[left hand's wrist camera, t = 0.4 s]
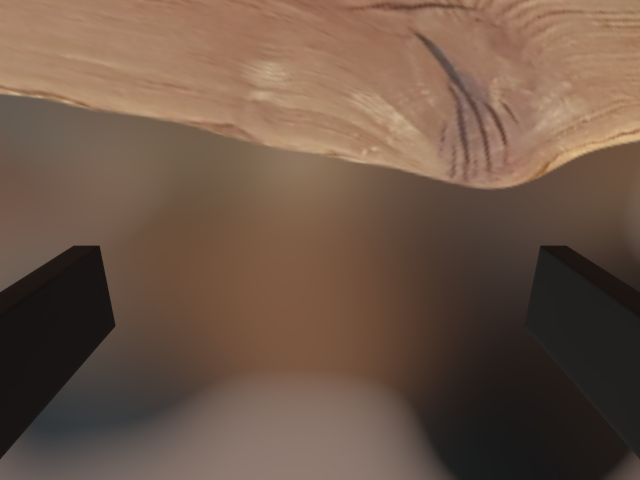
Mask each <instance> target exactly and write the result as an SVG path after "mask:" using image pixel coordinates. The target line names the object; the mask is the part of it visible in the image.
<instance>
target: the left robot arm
mask: <svg viewBox="0 0 640 480" xmlns="http://www.w3.org/2000/svg"><path fill="white" fill-rule="evenodd" d="M114 327H115V321H114V316H113V311H112V306H111V301H110V296H109V291H108V286H107V281H106V276H105V271H104V266H103V261H102V256H101V251H100V246H73V247H71V248H69V249H68V250H66V251H65V252H63V253H61V254H60V255H58V256H57V257H55V258H54V259H52V260H50V261H49V262H47V263H46V264H44V265H43V266H41V267H39V268H38V269H36V270H35V271H33V272H31V273H30V274H28V275H27V276H25V277H24V278H22V279H20V280H19V281H17V282H16V283H14V284H13V285H11V286H9V287H8V288H6V289H5V290H3V291H2V292H0V459H1V458H2V456H3V455H4V454H5V453H6V452H7V451H8V449H9V448H10V447H11V446H12V445H13V444H14V443H15V441H16V440H17V439H18V438H19V437H20V436H21V435H22V433H23V432H24V431H25V430H26V429H27V428H28V426H29V425H30V424H31V423H32V422H33V421H34V419H35V418H36V417H37V416H38V415H39V414H40V413H41V411H42V410H43V409H44V408H45V407H46V406H47V404H48V403H49V402H50V401H51V400H52V399H53V398H54V396H55V395H56V394H57V393H58V392H59V391H60V389H61V388H62V387H63V386H64V385H65V384H66V382H67V381H68V380H69V379H70V378H71V377H72V376H73V374H74V373H75V372H76V371H77V370H78V369H79V367H80V366H81V365H82V364H83V363H84V362H85V361H86V359H87V358H88V357H89V356H90V355H91V354H92V352H93V351H94V350H95V349H96V348H97V347H98V346H99V344H100V343H101V342H102V341H103V340H104V339H105V337H106V336H107V335H108V334H109V333H110V332H111V331H112V329H113V328H114ZM525 327H526V328H527V329H528V330H529V332H530V333H531V334H532V335H533V336H534V337H535V339H536V340H537V341H538V342H539V343H540V344H541V346H542V347H543V348H544V349H545V350H546V351H547V352H548V354H549V355H550V356H551V357H552V358H553V359H554V361H555V362H556V363H557V364H558V365H559V366H560V368H561V369H562V370H563V371H564V372H565V373H566V374H567V376H568V377H569V378H570V379H571V380H572V381H573V383H574V384H575V385H576V386H577V387H578V388H579V389H580V391H581V392H582V393H583V394H584V395H585V396H586V398H587V399H588V400H589V401H590V402H591V403H592V404H593V406H594V407H595V408H596V409H597V410H598V411H599V412H600V414H601V415H602V416H603V417H604V418H605V420H606V421H607V422H608V423H609V424H610V425H611V426H612V428H613V429H614V430H615V431H616V432H617V433H618V435H619V436H620V437H621V438H622V439H623V440H624V441H625V443H626V444H627V445H628V446H629V447H630V448H631V450H632V451H633V452H634V453H635V454H636V455H637V456H638V458H639V459H640V292H638V291H637V290H635V289H634V288H632V287H631V286H629V285H627V284H626V283H624V282H623V281H621V280H619V279H618V278H616V277H615V276H613V275H612V274H610V273H608V272H607V271H605V270H604V269H602V268H601V267H599V266H597V265H596V264H594V263H593V262H591V261H590V260H588V259H586V258H585V257H583V256H582V255H580V254H578V253H577V252H575V251H574V250H572V249H571V248H569V247H567V246H540V251H539V256H538V261H537V266H536V271H535V276H534V281H533V286H532V291H531V296H530V301H529V306H528V311H527V316H526V321H525Z"/></svg>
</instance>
